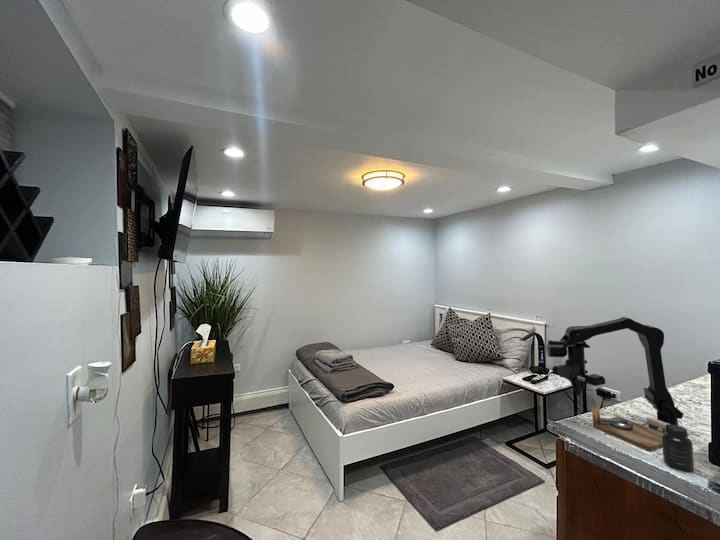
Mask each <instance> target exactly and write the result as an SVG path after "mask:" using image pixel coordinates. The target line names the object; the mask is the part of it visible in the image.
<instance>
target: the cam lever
mask: <svg viewBox="0 0 720 540" xmlns="http://www.w3.org/2000/svg"><path fill="white" fill-rule="evenodd" d="M591 413H592V423H597V424H600V422H606V423H610V424H611V425H613V426H615V427H618V428H623V429H632V428H633V424H632V423H631V422H630V421H631V420H630V421H628V420H629V419H627V420H625V419H626V418H624V419H621V418H613V417H610V418H611V419H610V418H609V417H607V418H606V417H601V415H600V407H599V406H597V405H591Z"/></svg>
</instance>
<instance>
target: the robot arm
mask: <svg viewBox="0 0 720 540" xmlns="http://www.w3.org/2000/svg"><path fill="white" fill-rule="evenodd" d="M626 329H628V330H629V331H632V332H634V333H636V334H637V336H638V339H639V341H640V343H641V345H642V346H643V349H644V354H645V360H646V361H645V362H646V367H647V368H646V369H647V374H648V375H647V376H648V380H649V381H648V382H649V385H648V388H647V387H643V391H644V398H645V400H646V401H647V402H648V404H650V405H651V406H652V407H653V409H654V410H656V419H657V420H660V421H663V422H665V423H668V424H671V425H677V426H679V419H680V420H682V419H683V416H684V412H682V411H681V410H680V409H678V408H677V407H676V406H675V403H674V400H673V397H672V395H671V393H670V391H669V390H668V388H667V384H666V378H665V377H666V376H665V371H664V370H665V369H664V364H663V358H662V348H663V346H664V344H665V333H664V331H663V330H661V329H660V328H658V327H655V326H651V325H649V324H642V323H640V322H637V321H635V320H633V319H632V318H630V317H627V316H622V317H620V318H617V319H612V320H608V321H604V322H600V323H599V322H598V323H595V324H591V325H575V326H574V325H572V326H569V327H567V328H566V329H565V333H564V335H563V336H562V337H561V338H560V340H552V339H551V340H550V339H549V340H547V343H546V355H547V356H548V357H549V358H565V357H566V356H567V358H566V359H565V363H564V364H558V365H554V366H552V373H553V374H556V375H559V377H560V378H564V379H566V380H568V382H570V384H571V386H572V388H573V391H574V393H575V395H576V396H578V397H579V396H581V395H582V392H583V390H584V389H585V387H586V386H587V385H591V386H594V387H596V386H601V385H605V384H606V378H605V377H604V375H603V376H602V375H599V374H594V373H593V374H588V373H589V372H588V370H587V369H586V364H588V360H586V359H585V358H586V357H585V349H589V348H591V346H590V345H589V344H588V343H587V342H586V341H588V340H589V339H590V340H591V338H593V337H595V336H599V335H604V334H609V333H613V332H617V331H622V330H626Z"/></svg>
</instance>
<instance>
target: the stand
mask: <svg viewBox="0 0 720 540" xmlns="http://www.w3.org/2000/svg"><path fill="white" fill-rule="evenodd" d="M611 418H621V419H625V420H628V421H630V422H631V423H632V424H633V428H632V429H623V428H618V427H615V426H613V425H611V424H610V423H606V422H600V424H597V423H594V422H592V427H593V428H594V429H596V430H599V431H601V432H604V433H606V434H608V435H611V436H612V437H615V438H617V439H619V440H622V441H623V442H627V443H629V444H632V445H634V446H636V447H638V448H641V449H643V450H644V451H647V452H650V453H651V452H653V451H657V450H660V449H663V443H662V435H663V434H664V433H666V425H669V424H668V423H665V422H663V421H660V420H657V418H653V417H648V418H646V426H645V425H643V424H640V423H637V422H635V421H632V420H629V419H627V418H624V417H621V416H618V415H617V416H614V417H610V418H609V419H611Z"/></svg>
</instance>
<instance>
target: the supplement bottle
mask: <svg viewBox="0 0 720 540" xmlns="http://www.w3.org/2000/svg"><path fill="white" fill-rule="evenodd" d="M662 443H663V447H662V453H663V454H662V456H663V457H662V458H663V462H664V463H665V464H666V466H668V467H670V468H671V469H674V470H677V471H680V472H687V473H690V472H693V471H694V469H695V467H694V466H695V463H694V462H695V461H694V447H693V446H694V445H693V441H692V440H691V439H690V438H689V435H688V430H687V428H685V427H683V426H682V425H681V426H680V425H678V426H677V425H671V424H669V425H666V433H664V434H663V435H662Z"/></svg>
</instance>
